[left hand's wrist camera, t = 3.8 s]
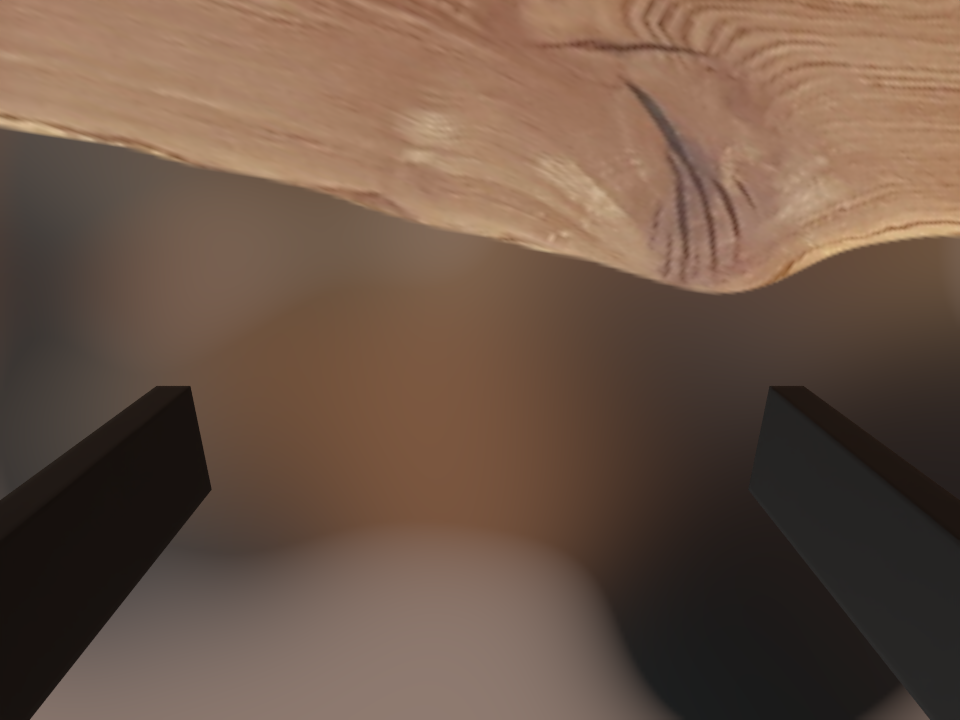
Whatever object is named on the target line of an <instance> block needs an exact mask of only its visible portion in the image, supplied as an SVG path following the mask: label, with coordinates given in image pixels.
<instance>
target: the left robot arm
mask: <svg viewBox="0 0 960 720" xmlns="http://www.w3.org/2000/svg"><path fill="white" fill-rule="evenodd" d="M210 491H211V485H210V480H209V475H208V470H207V465H206V460H205V455H204V451H203V445H202V441H201V436H200V431H199V426H198V421H197V416H196V412H195V407H194V402H193V397H192V392H191V387H190V386H156V387H155V388H153V389H152V390H151V391H149V392H148V393H146V394H145V395H144V396H142V397H141V398H140V399H138V400H137V401H135V402H134V403H133V404H131V405H130V406H129V407H127V408H126V409H125V410H123V411H122V412H120V413H119V414H118V415H116V416H115V417H114V418H112V419H111V420H109V421H108V422H107V423H105V424H104V425H103V426H101V427H100V428H99V429H97V430H96V431H94V432H93V433H92V434H90V435H89V436H88V437H86V438H85V439H83V440H82V441H81V442H79V443H78V444H77V445H75V446H74V447H73V448H71V449H70V450H68V451H67V452H66V453H64V454H63V455H62V456H60V457H59V458H58V459H56V460H55V461H53V462H52V463H51V464H49V465H48V466H47V467H45V468H44V469H42V470H41V471H40V472H38V473H37V474H36V475H34V476H33V477H32V478H30V479H29V480H27V481H26V482H25V483H23V484H22V485H21V486H19V487H18V488H16V489H15V490H14V491H12V492H11V493H10V494H8V495H7V496H6V497H4V498H3V499H1V500H0V720H30V719H31V717H32V716H33V715H34V714H35V712H36V711H37V710H38V709H39V707H40V706H41V705H42V704H43V702H44V701H45V700H46V698H47V697H48V696H49V695H50V693H51V692H52V691H53V690H54V688H55V687H56V686H57V684H58V683H59V682H60V681H61V679H62V678H63V677H64V676H65V674H66V673H67V672H68V671H69V669H70V668H71V667H72V666H73V664H74V663H75V662H76V661H77V659H78V658H79V657H80V655H81V654H82V653H83V652H84V650H85V649H86V648H87V647H88V645H89V644H90V643H91V642H92V640H93V639H94V638H95V636H96V635H97V634H98V633H99V631H100V630H101V629H102V628H103V626H104V625H105V624H106V623H107V621H108V620H109V619H110V617H111V616H112V615H113V614H114V612H115V611H116V610H117V609H118V607H119V606H120V605H121V603H122V602H123V601H124V600H125V598H126V597H127V596H128V595H129V593H130V592H131V591H132V590H133V588H134V587H135V586H136V585H137V583H138V582H139V581H140V579H141V578H142V577H143V576H144V574H145V573H146V572H147V571H148V569H149V568H150V567H151V566H152V564H153V563H154V562H155V560H156V559H157V558H158V557H159V555H160V554H161V553H162V552H163V550H164V549H165V548H166V547H167V545H168V544H169V543H170V541H171V540H172V539H173V538H174V536H175V535H176V534H177V533H178V531H179V530H180V529H181V528H182V526H183V525H184V524H185V523H186V521H187V520H188V519H189V517H190V516H191V515H192V514H193V512H194V511H195V510H196V509H197V507H198V506H199V505H200V504H201V502H202V501H203V500H204V498H205V497H206V496H207V495H208V493H209V492H210ZM749 491H750V492H751V493H752V495H753V496H754V497H755V498H756V500H757V501H758V502H759V504H760V505H761V506H762V507H763V509H764V510H765V511H766V512H767V514H768V515H769V516H770V517H771V519H772V520H773V521H774V522H775V524H776V525H777V526H778V528H779V529H780V530H781V531H782V533H783V534H784V535H785V536H786V538H787V539H788V540H789V541H790V543H791V544H792V545H793V547H794V548H795V549H796V550H797V552H798V553H799V554H800V555H801V557H802V558H803V559H804V560H805V562H806V563H807V564H808V566H809V567H810V568H811V569H812V571H813V572H814V573H815V574H816V576H817V577H818V578H819V579H820V581H821V582H822V583H823V585H824V586H825V587H826V588H827V590H828V591H829V592H830V593H831V595H832V596H833V597H834V598H835V600H836V601H837V602H838V604H839V605H840V606H841V607H842V609H843V610H844V611H845V612H846V614H847V615H848V616H849V617H850V619H851V620H852V621H853V623H854V624H855V625H856V626H857V628H858V629H859V630H860V631H861V633H862V634H863V635H864V636H865V638H866V639H867V640H868V641H869V643H870V644H871V645H872V647H873V648H874V649H875V650H876V652H877V653H878V654H879V655H880V657H881V658H882V659H883V660H884V662H885V663H886V664H887V666H888V667H889V668H890V669H891V671H892V672H893V673H894V674H895V676H896V677H897V678H898V679H899V681H900V682H901V683H902V685H903V686H904V687H905V688H906V690H907V691H908V692H909V693H910V695H911V696H912V697H913V698H914V700H915V701H916V702H917V704H918V705H919V706H920V707H921V709H922V710H923V711H924V712H925V714H926V715H927V716H928V717H929V719H930V720H960V500H959V499H957V498H956V497H954V496H953V495H952V494H950V493H949V492H948V491H946V490H945V489H944V488H942V487H941V486H939V485H938V484H937V483H935V482H934V481H933V480H931V479H930V478H929V477H927V476H926V475H924V474H923V473H922V472H920V471H919V470H918V469H916V468H915V467H913V466H912V465H911V464H909V463H908V462H907V461H905V460H904V459H902V458H901V457H900V456H898V455H897V454H896V453H894V452H893V451H892V450H890V449H889V448H887V447H886V446H885V445H883V444H882V443H881V442H879V441H878V440H876V439H875V438H874V437H872V436H871V435H870V434H868V433H867V432H866V431H864V430H863V429H861V428H860V427H859V426H857V425H856V424H855V423H853V422H852V421H850V420H849V419H848V418H846V417H845V416H844V415H842V414H841V413H840V412H838V411H837V410H835V409H834V408H833V407H831V406H830V405H829V404H827V403H826V402H825V401H823V400H822V399H820V398H819V397H818V396H816V395H815V394H814V393H812V392H811V391H809V390H808V389H807V388H805V387H804V386H770V387H769V392H768V397H767V402H766V406H765V411H764V416H763V421H762V426H761V431H760V436H759V441H758V445H757V450H756V455H755V460H754V465H753V470H752V475H751V480H750V484H749Z"/></svg>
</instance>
